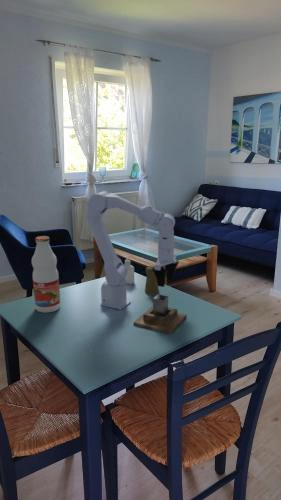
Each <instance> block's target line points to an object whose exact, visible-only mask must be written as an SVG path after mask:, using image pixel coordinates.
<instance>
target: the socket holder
mask: <svg viewBox="0 0 281 500" xmlns="http://www.w3.org/2000/svg"><path fill="white" fill-rule="evenodd" d="M186 318H187V314H186V313H181V312H178V309H177V308H172V307H168V314H167V315H166V316H165V317H163V316H158V315H154V314H153V306H151V307H149V309H147V310H146V311H145V312H144V313H143V314H141V315H140V317H138V318H137V319H136V320H135V321H133V326H137V327H142V328H144V329H145V328H146V329H150V330H154V331H157V332H160V333H161V332H162V333H166V334H168V335H169V334H170V335H171V334H172V333H173V332H174V331H175V330H176V329H177V328H178V327H179V326H180V324H181V323H182V322H183V321H184V320H185V319H186Z"/></svg>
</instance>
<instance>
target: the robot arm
mask: <svg viewBox="0 0 281 500" xmlns="http://www.w3.org/2000/svg"><path fill="white" fill-rule="evenodd" d="M86 205H87V209H86V210H87V211H86V222H87V224H88V226H89V229H90V231H91V233H92V235H93V238H94V241H95V243H96V245H97V248H98V250H99V253H100V255H101V257H102V259H103V262H104V265H103V266H104V267H103V270H104V273H105V276H104V278H105V281H103V283H102V285H101V289H100V293H101V294H100V295H101V296H100V297H101V298H100V299H101V303H100V306H103V307H108V308H111V309H116V310H119V311H121V310H123V309H124V308H125V307H127V306H128V305H130V304H131V302H132V301H131V300H128V299H127V284H126V280H125V276H126V275H127V268H126V266H125V263H123V261H122V259H121V258H120V257H119V256H118V255H117V253H116V250H115V248H114V246H113V243H112V240H111V238H110V235H109V233H108V231H107V229H106V225H105V223H104V221H103V217H104V214H105V213H106V211H107V210H110V209H116V208H118V209H120V210H122V211H125V212H128V213H130V214H133V215H135V216H137V219H139V221H141V222H142V223H145V224H147V225H149V226H151V227H154V228H157V230H158V235H157V241H158V243H157V254H158V255H157V260H156V262H155V264H154V266H155V267H153V268H152V271H153V272H154V274H155V276H156V279H157V283H158V287H160V288H164V287H165V285H166V279H167V281H168V280H169V281H173V280H174V277H175V272H176V269H177V267H178V265H179V261H178V260H177V254H175V235H174V234H175V230H174V227H175V224H176V219H175V217H174V216H173V215H172V214H171V213H167V212H166V213H165V211H163V210H162V211H159V210H157V209H155V208H153V206H152V205H143V206H139V205H137V204H135V203H134V202H131V201H129V200H127V199H126V198H124V197H121V196H119V195H117V194H115V193H112V192H109V191H107V190H100V192H97V193H94V194H92V195H91V196H90V197H89V199H88V201H87V203H86Z"/></svg>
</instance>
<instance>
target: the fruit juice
mask: <svg viewBox="0 0 281 500" xmlns="http://www.w3.org/2000/svg"><path fill="white" fill-rule="evenodd" d="M35 243H36V245H35V251H34V253H33V255H32V257H31V265H32V268H33V269H32V270H33V271H32V285H33V296H34V297H33V298H34V305H35V309H36V311H37V312H39V313H45V314H46V313H52V312H53V313H54V312H56V311H58V310H59V309H60V308H61V291H60V280H59V279H60V278H59V271H58V269H57V263H58V259H57V256H56V254H55V253H54V252H53V250H52V247H51V245H50V237H49V236H47V235H39V236H37V237H35Z"/></svg>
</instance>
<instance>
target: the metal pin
mask: <svg viewBox="0 0 281 500" xmlns="http://www.w3.org/2000/svg"><path fill="white" fill-rule="evenodd" d="M152 307H153V314H154V315H158V316H163V317H165V316H166V315H167V314H168V308H169V296H167V295H164V294H158V293H157V294H156V296H154V297H153V298H152Z"/></svg>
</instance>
